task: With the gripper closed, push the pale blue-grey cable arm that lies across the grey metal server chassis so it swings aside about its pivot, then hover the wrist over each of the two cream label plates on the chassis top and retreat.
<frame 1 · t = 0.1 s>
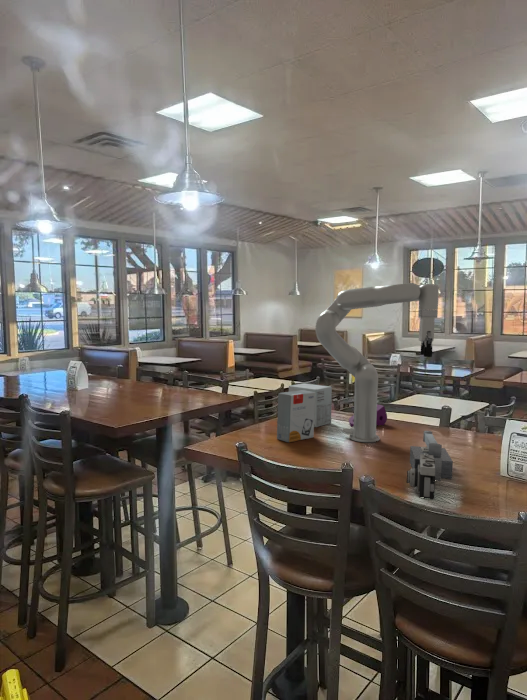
hand: (426, 355, 207), 37 cm above the table, tool pointing down, fingers open, 9 cm apart
chassis: (429, 470, 175), on the table
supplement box: (309, 423, 244), on the table
hard drive box: (295, 438, 214), on the table
mounting bracket: (365, 425, 241), on the table
camera: (420, 490, 156), on the table
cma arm: (431, 443, 173), point 10 cm above the table, hinge at 0.0°
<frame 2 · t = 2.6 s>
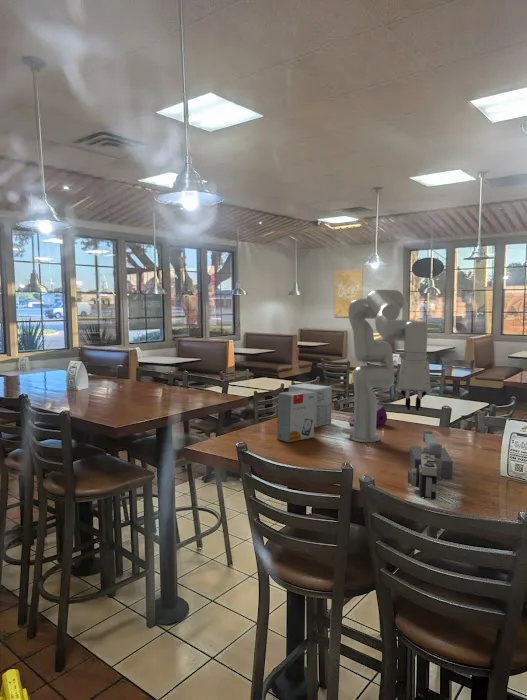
hand: (412, 409, 175), 21 cm above the table, tool pointing down, fingers closed
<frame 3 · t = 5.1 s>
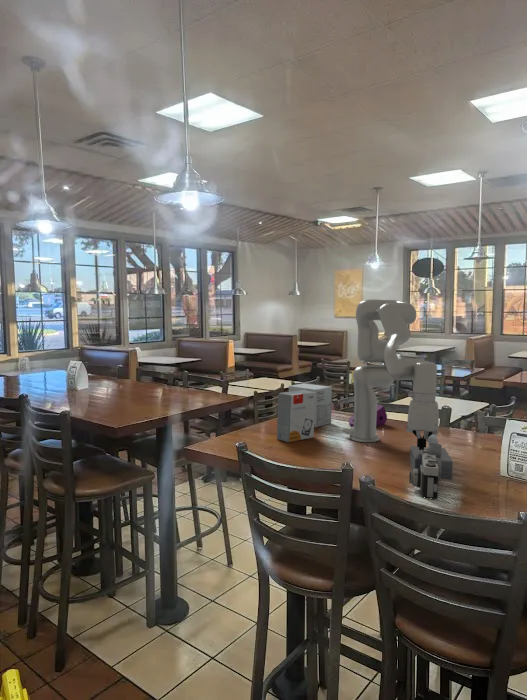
hand: (421, 449, 175), 7 cm above the table, tool pointing down, fingers closed
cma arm: (433, 443, 173), point 10 cm above the table, hinge at 4.4°, touching gripper
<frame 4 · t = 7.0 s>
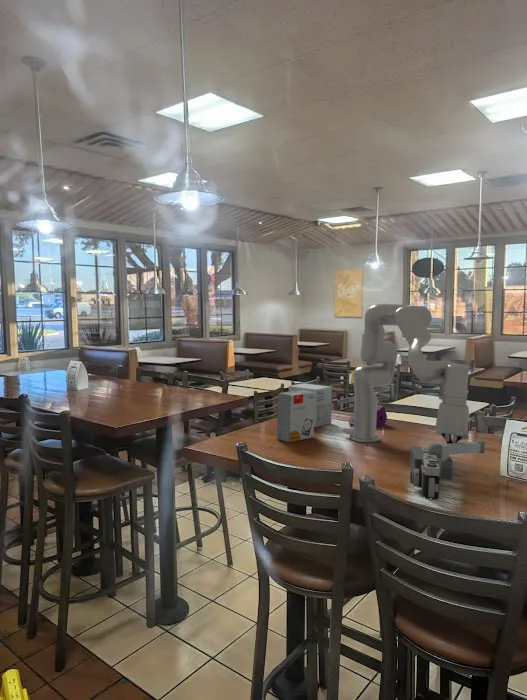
hand: (451, 453, 171), 7 cm above the table, tool pointing down, fingers closed
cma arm: (457, 448, 167), point 10 cm above the table, hinge at 62.5°, touching gripper
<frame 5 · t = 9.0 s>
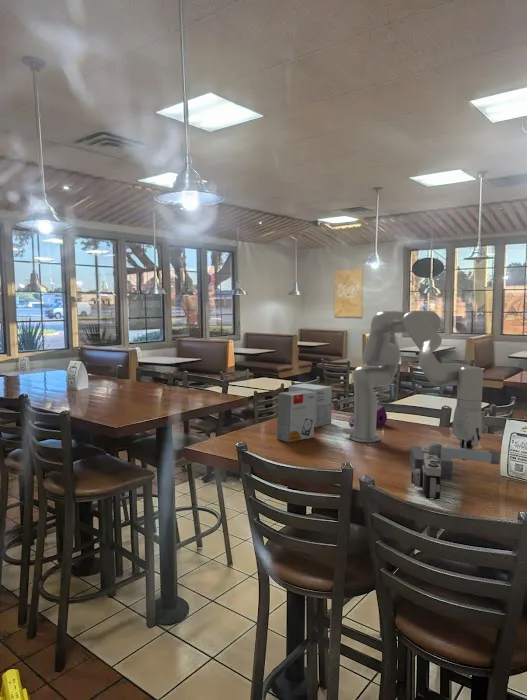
hand: (465, 459, 165), 7 cm above the table, tool pointing down, fingers closed
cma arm: (463, 453, 161), point 10 cm above the table, hinge at 102.0°, touching gripper
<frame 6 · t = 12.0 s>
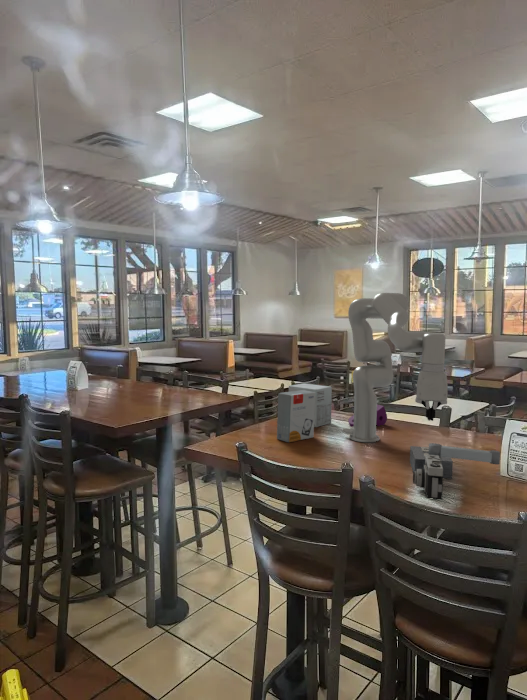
hand: (430, 419, 177), 17 cm above the table, tool pointing down, fingers closed
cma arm: (463, 453, 161), point 10 cm above the table, hinge at 102.1°
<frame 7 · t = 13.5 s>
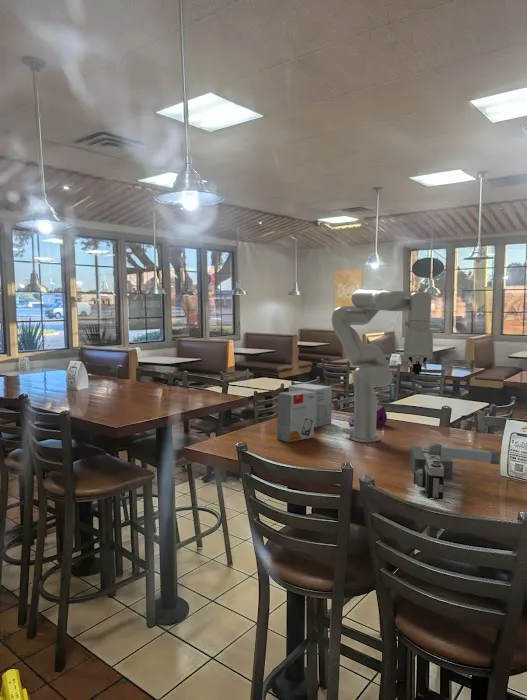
hand: (416, 374, 187), 32 cm above the table, tool pointing down, fingers closed
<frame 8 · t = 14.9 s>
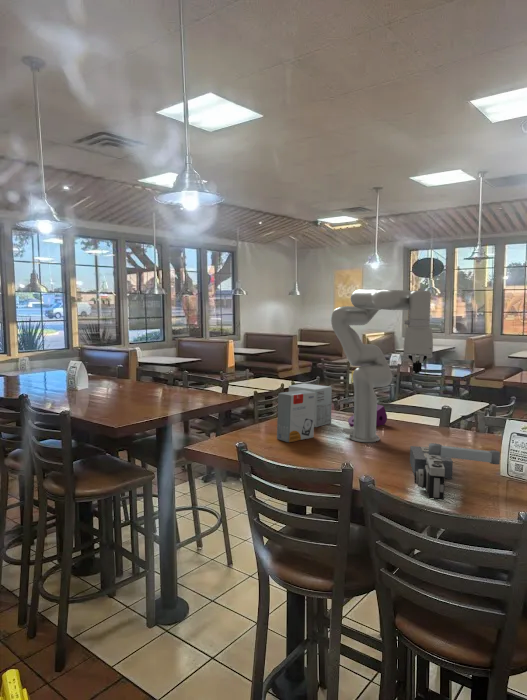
hand: (416, 373, 187), 32 cm above the table, tool pointing down, fingers closed
at the end: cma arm at +102° (first picture: +0°); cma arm touching nothing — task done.
